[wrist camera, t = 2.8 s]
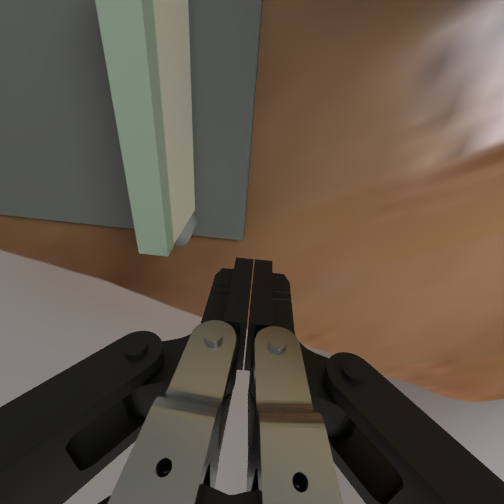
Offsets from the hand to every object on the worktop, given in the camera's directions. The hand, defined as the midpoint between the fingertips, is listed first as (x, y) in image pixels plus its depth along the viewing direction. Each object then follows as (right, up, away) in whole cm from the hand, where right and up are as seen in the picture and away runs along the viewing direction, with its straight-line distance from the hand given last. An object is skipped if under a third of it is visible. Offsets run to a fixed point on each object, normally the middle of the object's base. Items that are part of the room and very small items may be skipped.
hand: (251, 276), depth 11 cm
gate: (-5, +11, +7) cm, 14 cm away
